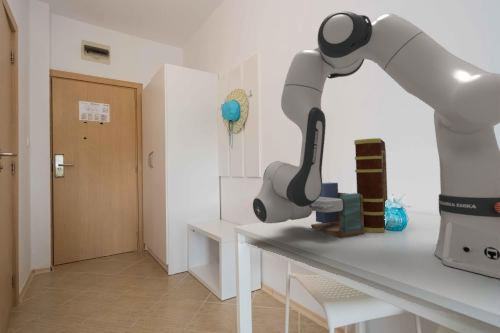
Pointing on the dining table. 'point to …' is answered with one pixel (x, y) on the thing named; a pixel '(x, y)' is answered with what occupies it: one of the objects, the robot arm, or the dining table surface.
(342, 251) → the dining table surface
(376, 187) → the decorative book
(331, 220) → the navy book
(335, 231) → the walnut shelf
